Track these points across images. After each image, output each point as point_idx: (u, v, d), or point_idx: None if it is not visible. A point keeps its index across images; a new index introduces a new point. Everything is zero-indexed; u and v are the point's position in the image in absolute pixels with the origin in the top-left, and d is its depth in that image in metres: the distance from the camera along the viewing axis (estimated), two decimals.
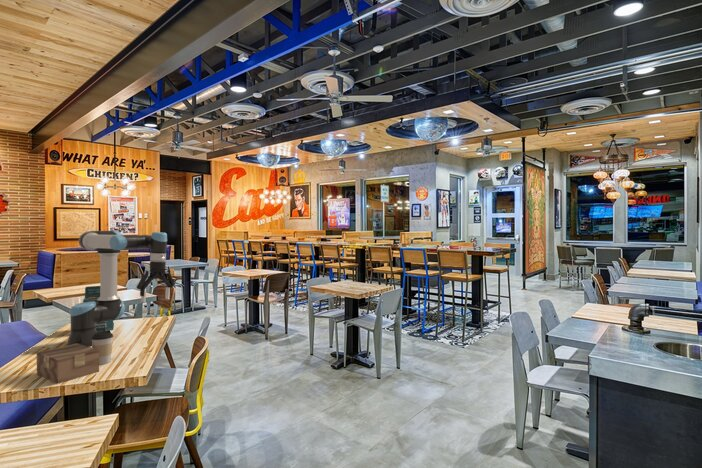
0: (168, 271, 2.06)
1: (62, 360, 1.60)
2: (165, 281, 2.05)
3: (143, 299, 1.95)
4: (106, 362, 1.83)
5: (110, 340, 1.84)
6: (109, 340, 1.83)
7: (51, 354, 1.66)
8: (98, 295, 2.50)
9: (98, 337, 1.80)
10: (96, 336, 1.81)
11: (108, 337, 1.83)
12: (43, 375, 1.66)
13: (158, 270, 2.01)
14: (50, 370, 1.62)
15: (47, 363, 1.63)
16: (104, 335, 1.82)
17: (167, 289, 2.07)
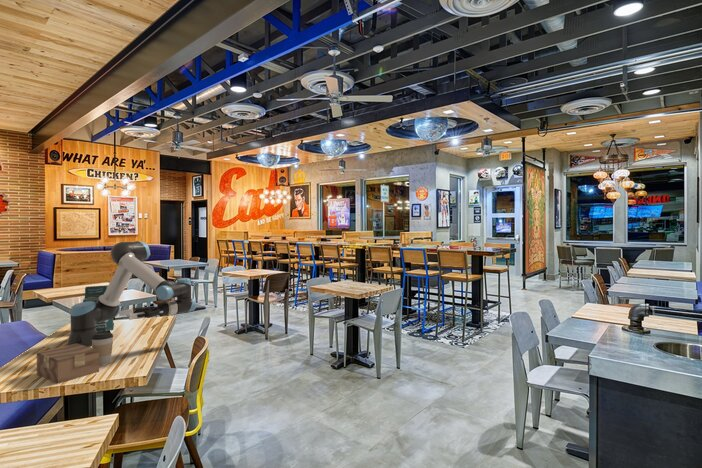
0: None
1: (62, 360, 1.60)
2: (141, 312, 2.02)
3: (133, 317, 1.88)
4: (106, 362, 1.83)
5: (110, 340, 1.84)
6: (109, 340, 1.83)
7: (51, 354, 1.66)
8: (98, 295, 2.50)
9: (98, 337, 1.80)
10: (96, 336, 1.81)
11: (108, 337, 1.83)
12: (43, 375, 1.66)
13: None
14: (50, 370, 1.62)
15: (47, 363, 1.63)
16: (104, 335, 1.82)
17: (131, 312, 2.00)
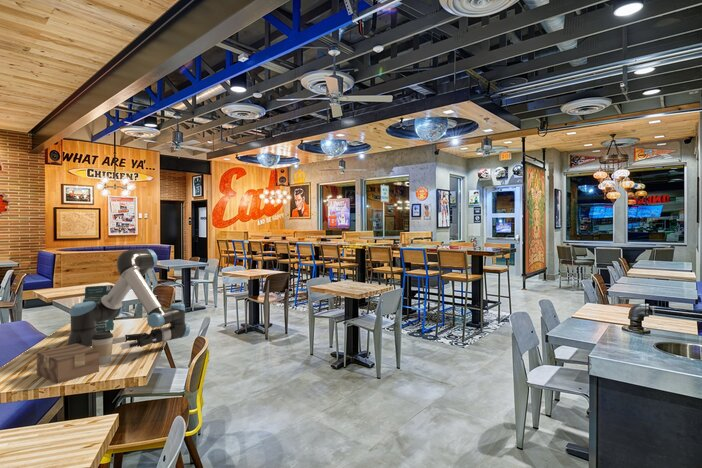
0: None
1: (62, 360, 1.60)
2: (134, 339, 1.99)
3: (125, 347, 1.85)
4: (106, 362, 1.83)
5: (110, 340, 1.84)
6: (109, 340, 1.83)
7: (51, 354, 1.66)
8: (98, 295, 2.50)
9: (98, 337, 1.80)
10: (96, 336, 1.81)
11: (108, 337, 1.83)
12: (43, 375, 1.66)
13: None
14: (50, 370, 1.62)
15: (47, 363, 1.63)
16: (104, 335, 1.82)
17: (123, 339, 1.97)
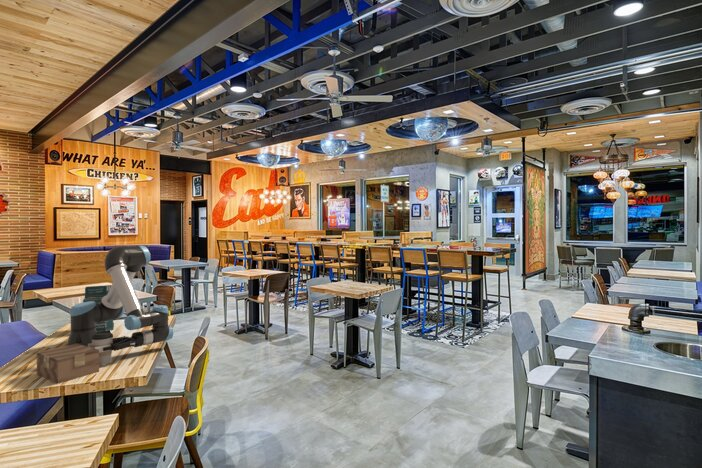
0: None
1: (62, 360, 1.60)
2: (114, 344, 1.91)
3: None
4: (106, 362, 1.83)
5: (110, 340, 1.84)
6: (109, 340, 1.83)
7: (51, 354, 1.66)
8: (98, 295, 2.50)
9: (98, 337, 1.80)
10: (96, 336, 1.81)
11: (108, 337, 1.83)
12: (43, 375, 1.66)
13: None
14: (50, 370, 1.62)
15: (47, 363, 1.63)
16: (104, 335, 1.82)
17: None
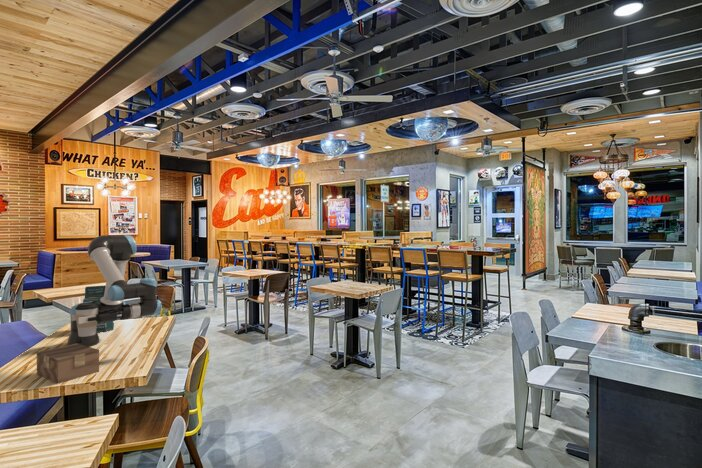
0: None
1: (62, 360, 1.60)
2: None
3: (83, 321, 1.71)
4: (91, 333, 1.75)
5: (95, 311, 1.77)
6: (94, 311, 1.76)
7: (51, 354, 1.66)
8: (98, 295, 2.50)
9: (82, 307, 1.73)
10: (80, 306, 1.73)
11: (93, 307, 1.75)
12: (43, 375, 1.66)
13: None
14: (50, 370, 1.62)
15: (47, 363, 1.63)
16: (89, 305, 1.74)
17: None
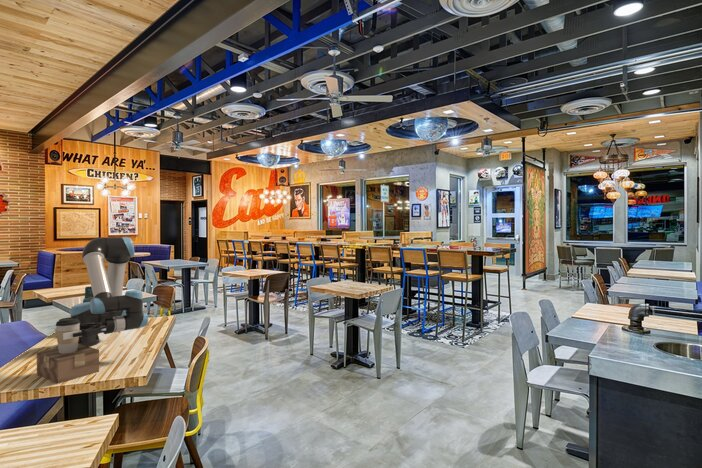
0: None
1: (62, 360, 1.60)
2: None
3: (67, 337, 1.65)
4: (72, 350, 1.69)
5: (76, 326, 1.70)
6: (75, 326, 1.70)
7: (51, 354, 1.66)
8: None
9: (63, 323, 1.67)
10: (60, 322, 1.67)
11: (74, 323, 1.69)
12: (43, 375, 1.66)
13: None
14: (50, 370, 1.62)
15: (47, 363, 1.63)
16: (69, 321, 1.68)
17: None
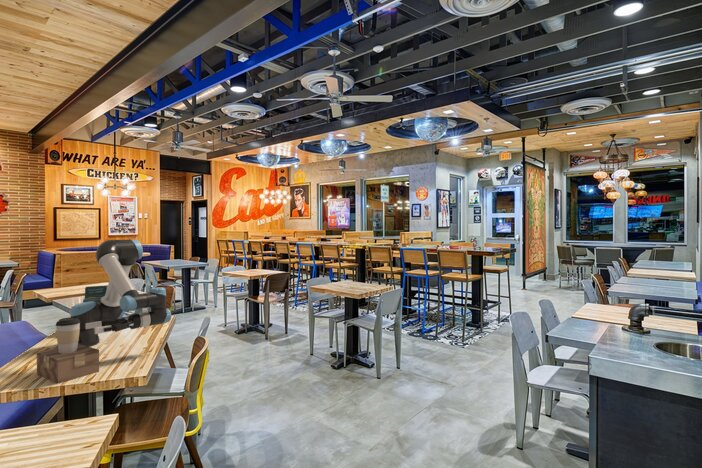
0: None
1: (62, 360, 1.60)
2: (110, 324, 1.88)
3: (99, 331, 1.74)
4: (72, 350, 1.69)
5: (76, 326, 1.70)
6: (75, 326, 1.70)
7: (51, 354, 1.66)
8: (98, 295, 2.50)
9: (63, 323, 1.67)
10: (60, 322, 1.67)
11: (74, 323, 1.69)
12: (43, 375, 1.66)
13: None
14: (50, 370, 1.62)
15: (47, 363, 1.63)
16: (69, 321, 1.68)
17: (99, 324, 1.86)
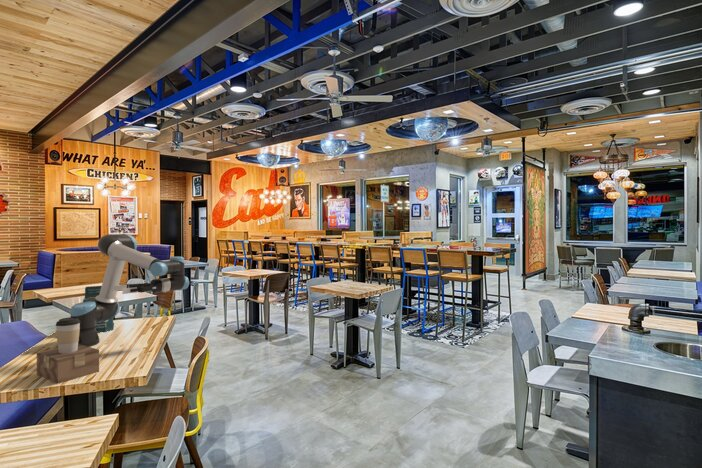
0: None
1: (62, 360, 1.60)
2: None
3: (126, 292, 1.92)
4: (72, 350, 1.69)
5: (76, 326, 1.70)
6: (75, 326, 1.70)
7: (51, 354, 1.66)
8: None
9: (63, 323, 1.67)
10: (60, 322, 1.67)
11: (74, 323, 1.69)
12: (43, 375, 1.66)
13: None
14: (50, 370, 1.62)
15: (47, 363, 1.63)
16: (69, 321, 1.68)
17: (124, 288, 2.03)
